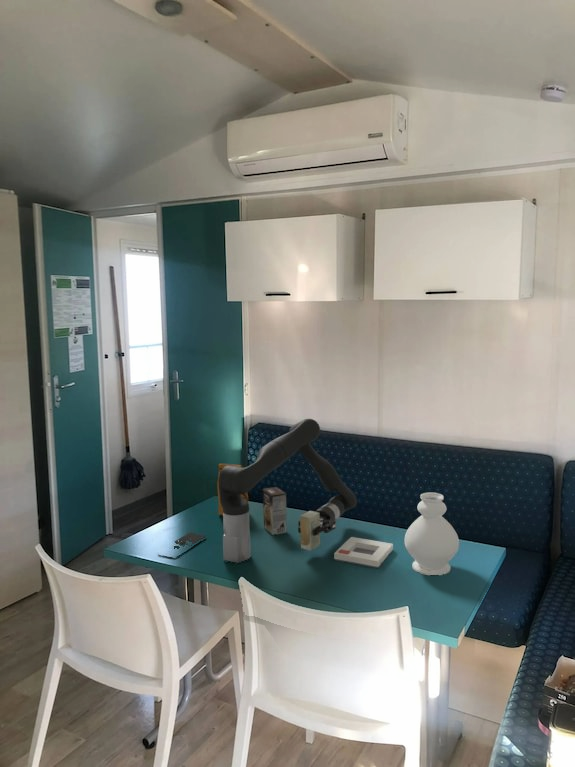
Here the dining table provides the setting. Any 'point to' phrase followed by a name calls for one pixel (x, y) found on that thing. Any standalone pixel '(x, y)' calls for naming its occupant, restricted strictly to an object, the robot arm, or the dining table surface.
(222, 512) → the coffee package
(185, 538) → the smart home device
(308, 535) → the skincare box
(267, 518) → the coffee box
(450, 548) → the decorative vase
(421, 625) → the dining table surface
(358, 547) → the socket plate
